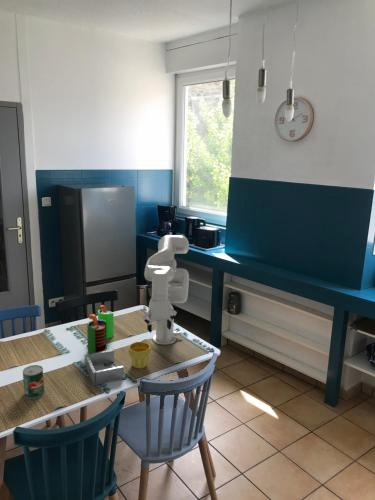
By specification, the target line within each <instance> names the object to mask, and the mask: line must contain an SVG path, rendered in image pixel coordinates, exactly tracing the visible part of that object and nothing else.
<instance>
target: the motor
mask: <svg viewBox="0 0 375 500" xmlns="http://www.w3.org/2000/svg"><path fill="white" fill-rule="evenodd" d="M88 317H89V318H88V320H90V321H88V322H87V324H86V325H87V326H86V329H87V331H86V334H87V337H86V338H87V354H91V353H97V352H102V351H107V350H108V349H107V347H108V345H107V344H108V340H107V339H108V338H107V321H105V320H98V316H97V315H96V314H95V313H91V314H89V316H88Z"/></svg>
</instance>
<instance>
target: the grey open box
mask: <svg viewBox="0 0 375 500" xmlns="http://www.w3.org/2000/svg"><path fill="white" fill-rule="evenodd" d="M84 358H85V359H84V360H85V361H84V362H85V363H84V364H85V368H86V371H87V373H88V375H89V377H90V380H91V383H92V385H93V386H97V385H102V384H107V383H110V382H111V383H112V382H115V381H119V380H124V376H125V375H124V374H125V373H124V372H125V370H124V365H118V366H114V367H109V368H104V369H99V370H95V366H99V365H105V364H109V363H114V362H115V350H114V349H107V350H106V351H102V352H97V353H91V354H88V353H87V354H84Z"/></svg>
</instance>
